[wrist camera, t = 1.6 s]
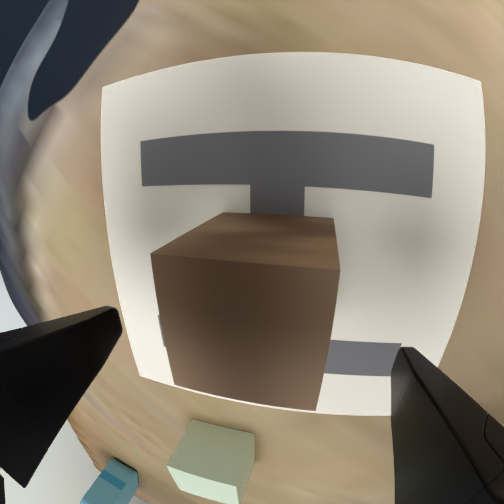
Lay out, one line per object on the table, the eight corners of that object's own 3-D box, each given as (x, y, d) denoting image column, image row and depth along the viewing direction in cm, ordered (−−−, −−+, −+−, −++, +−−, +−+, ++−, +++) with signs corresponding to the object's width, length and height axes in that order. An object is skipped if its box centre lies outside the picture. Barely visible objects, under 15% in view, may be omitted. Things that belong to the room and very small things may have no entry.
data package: (113, 455, 31) (77, 503, 20) (137, 469, 31) (103, 520, 20) (118, 474, 36) (91, 514, 25) (139, 486, 35) (112, 527, 24)
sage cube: (254, 432, 19) (236, 486, 14) (254, 461, 21) (239, 506, 16) (192, 418, 21) (166, 465, 16) (200, 448, 23) (180, 489, 17)
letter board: (472, 85, 9) (481, 81, 8) (411, 404, 15) (413, 414, 14) (112, 89, 13) (101, 86, 12) (146, 368, 20) (139, 375, 19)
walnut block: (333, 218, 12) (340, 269, 6) (323, 318, 13) (315, 411, 8) (222, 212, 13) (150, 253, 7) (226, 307, 15) (174, 384, 9)
